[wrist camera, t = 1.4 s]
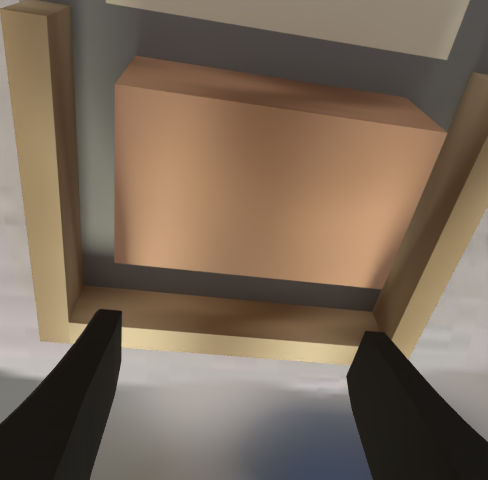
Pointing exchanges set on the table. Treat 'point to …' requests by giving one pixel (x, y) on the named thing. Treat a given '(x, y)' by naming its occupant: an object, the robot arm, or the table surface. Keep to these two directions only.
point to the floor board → (268, 64)
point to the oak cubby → (211, 308)
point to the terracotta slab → (264, 174)
